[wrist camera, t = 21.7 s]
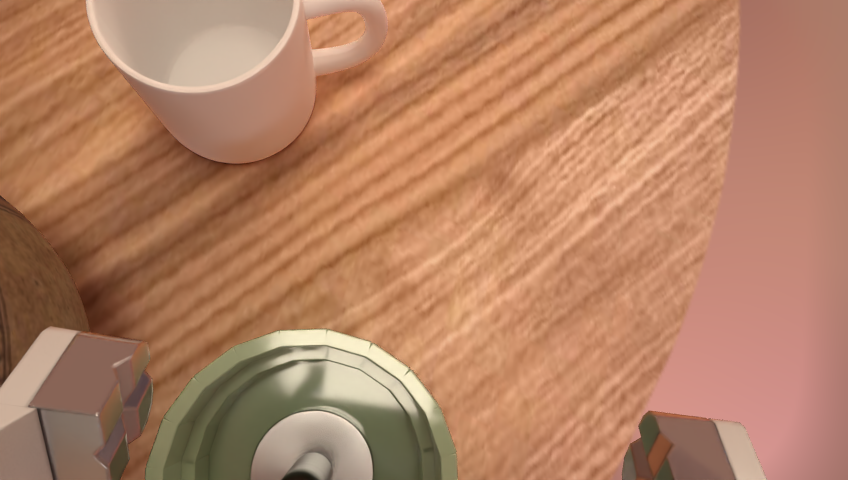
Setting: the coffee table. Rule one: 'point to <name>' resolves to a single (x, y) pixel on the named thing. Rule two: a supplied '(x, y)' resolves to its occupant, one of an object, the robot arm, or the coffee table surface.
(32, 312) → the vase
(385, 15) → the cup
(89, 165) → the coffee table surface
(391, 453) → the bowl
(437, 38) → the coffee table surface
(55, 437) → the robot arm
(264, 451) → the meat pounder
